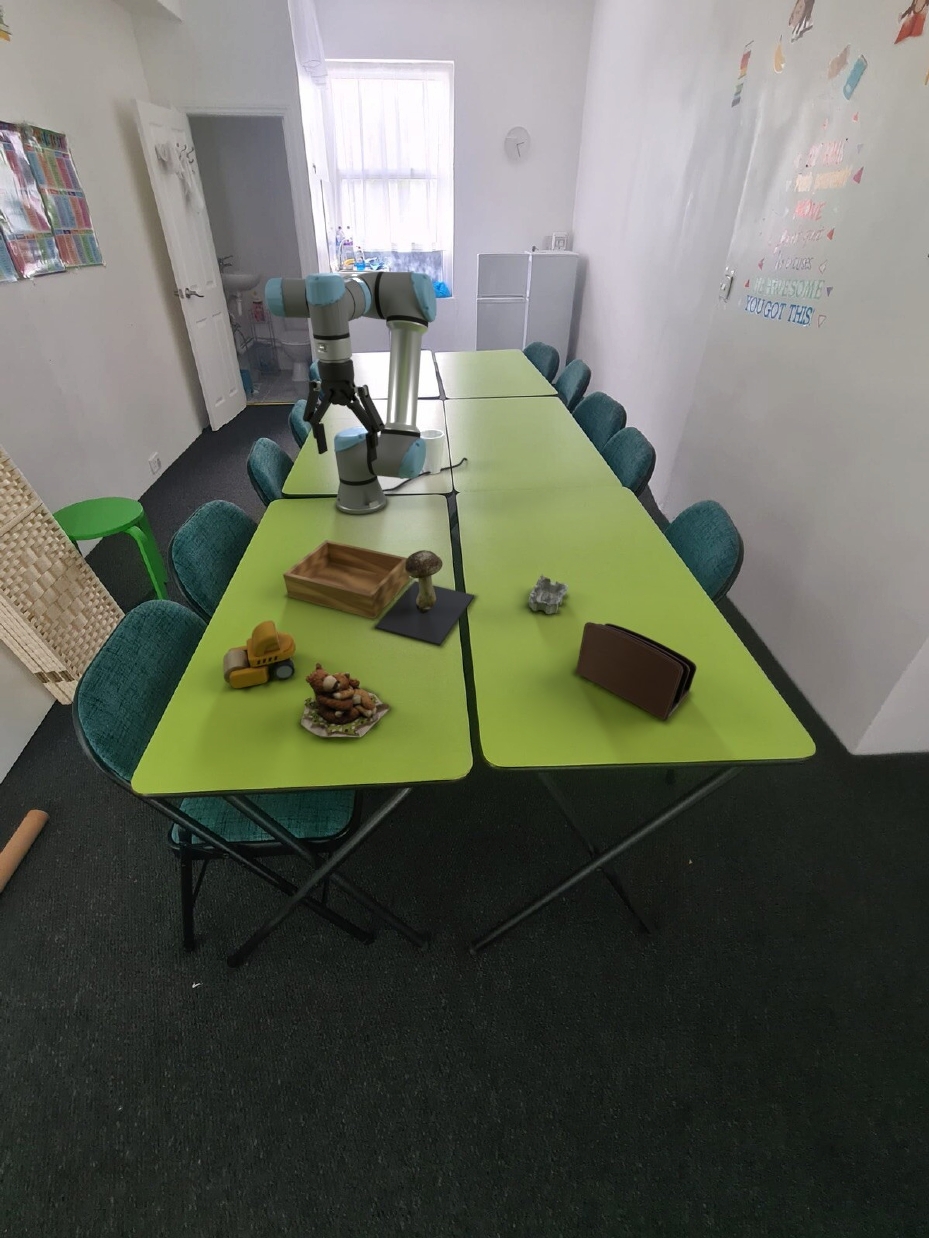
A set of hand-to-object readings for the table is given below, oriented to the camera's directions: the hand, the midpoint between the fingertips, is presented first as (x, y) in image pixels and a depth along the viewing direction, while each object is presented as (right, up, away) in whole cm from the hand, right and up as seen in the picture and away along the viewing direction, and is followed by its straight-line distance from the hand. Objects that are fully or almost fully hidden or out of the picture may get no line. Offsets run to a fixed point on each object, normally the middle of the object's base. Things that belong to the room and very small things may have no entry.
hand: (347, 456), depth 131 cm
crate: (-1, -30, +7) cm, 31 cm away
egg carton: (+47, -34, +2) cm, 59 cm away
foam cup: (+16, +14, +67) cm, 70 cm away
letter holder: (+61, -51, -20) cm, 82 cm away
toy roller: (-14, -49, -17) cm, 54 cm away
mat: (+19, -37, -1) cm, 41 cm away
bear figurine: (+5, -56, -27) cm, 63 cm away
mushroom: (+18, -36, -1) cm, 41 cm away
